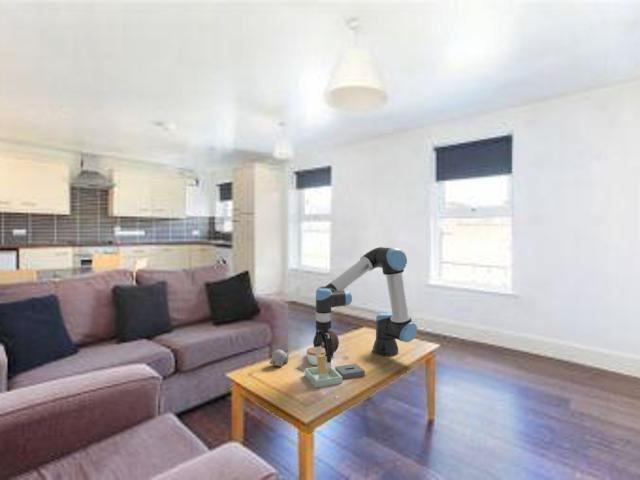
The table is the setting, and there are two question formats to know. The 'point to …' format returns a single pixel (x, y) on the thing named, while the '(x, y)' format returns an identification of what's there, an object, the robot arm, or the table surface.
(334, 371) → the parts tray
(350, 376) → the socket block
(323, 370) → the fuse
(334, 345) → the wooden sphere
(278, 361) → the toy rhinoceros
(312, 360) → the lidded jar
